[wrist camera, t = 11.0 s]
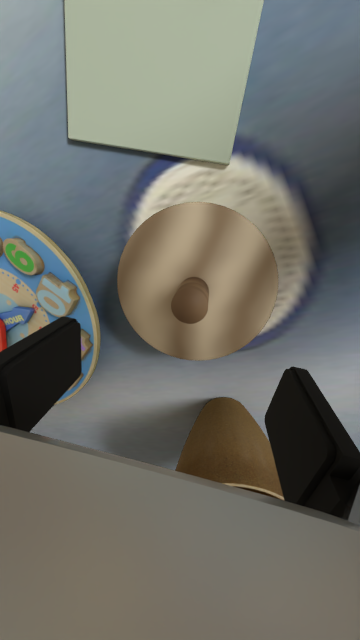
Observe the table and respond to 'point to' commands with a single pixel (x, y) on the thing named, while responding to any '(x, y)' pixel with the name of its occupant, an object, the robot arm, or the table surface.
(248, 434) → the plant pot
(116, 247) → the table surface
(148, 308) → the lid
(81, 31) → the mat
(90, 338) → the shape sorting clock
